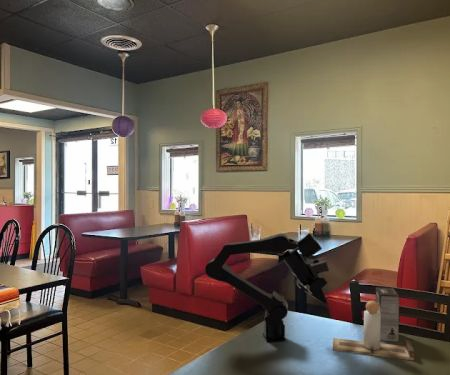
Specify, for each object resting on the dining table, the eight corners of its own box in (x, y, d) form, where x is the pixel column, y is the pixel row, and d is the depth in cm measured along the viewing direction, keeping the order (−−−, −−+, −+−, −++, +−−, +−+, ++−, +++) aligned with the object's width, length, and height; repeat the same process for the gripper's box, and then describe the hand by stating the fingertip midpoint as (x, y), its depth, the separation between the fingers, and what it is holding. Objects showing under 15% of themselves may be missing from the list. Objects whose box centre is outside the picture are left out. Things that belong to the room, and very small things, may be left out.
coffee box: (374, 330, 142) (375, 286, 141) (393, 331, 140) (393, 287, 140) (379, 340, 133) (379, 294, 132) (399, 342, 131) (399, 295, 131)
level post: (364, 348, 124) (364, 302, 123) (363, 342, 129) (363, 297, 128) (380, 350, 122) (381, 304, 122) (379, 343, 127) (379, 299, 127)
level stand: (332, 350, 125) (332, 342, 125) (333, 339, 133) (333, 331, 133) (414, 360, 118) (414, 351, 118) (409, 348, 126) (409, 340, 126)
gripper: (324, 252, 125) (354, 292, 123) (308, 250, 143) (334, 285, 142) (297, 273, 123) (327, 313, 122) (285, 269, 142) (311, 304, 141)
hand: (325, 303), depth 132 cm, fingers closed
